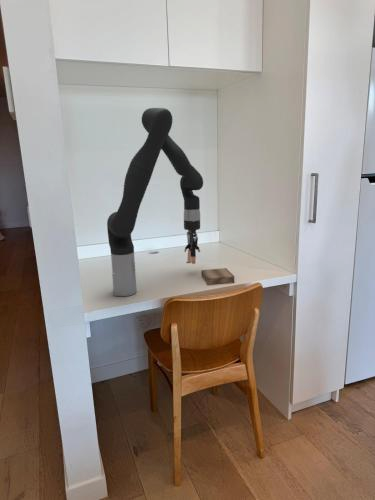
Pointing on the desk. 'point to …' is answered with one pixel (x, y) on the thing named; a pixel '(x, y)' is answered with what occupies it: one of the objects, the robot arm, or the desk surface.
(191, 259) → the grandmother figurine
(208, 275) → the walnut plinth
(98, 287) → the desk surface
